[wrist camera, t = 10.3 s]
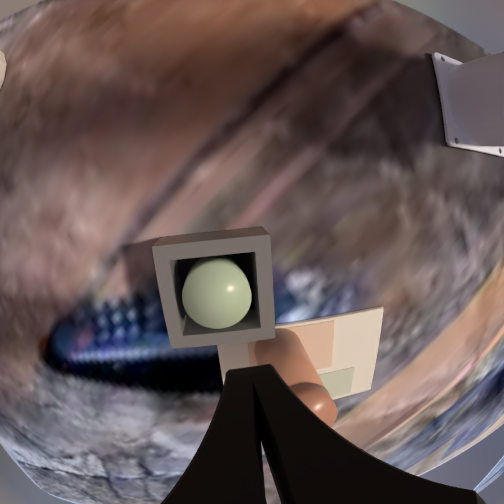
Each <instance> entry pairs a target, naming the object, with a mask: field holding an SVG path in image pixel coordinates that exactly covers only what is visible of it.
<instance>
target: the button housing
mask: <svg viewBox="0 0 504 504" xmlns="http://www.w3.org/2000/svg"><path fill="white" fill-rule="evenodd" d="M152 251H153V257H154V264H155V270H156V276H157V281H158V287H159V292H160V297H161V302H162V307H163V312H164V317H165V322H166V326H167V331H168V335H169V340H170V344H171V348H187V347H200V346H212V345H222V344H232V343H241V342H249V341H257V340H265V339H272V338H275V316H274V296H273V277H272V259H271V242H270V234H269V233H268V232H267V231H266V230H265V229H264V228H263V227H255V228H244V229H234V230H223V231H213V232H204V233H194V234H184V235H175V236H166V237H160V238H159V240H158V241H157V242H156V243H155V244H154V245H153V246H152ZM246 252H251V263H252V276H253V289H254V302H255V309H253V310H248V312H247V313H246V315H245V316H244V317H243V318H242V319H241V320H240V321H239V322H237V323H236V324H234V325H232V326H230V327H226V328H221V329H213V328H208V327H204V326H202V325H200V324H198V323H196V322H195V321H194V320H193V319H192V318H191V317H190V316H186V312H185V308H184V305H183V301H182V288H181V282H180V276H179V269H178V262H177V259H187V258H197V257H207V256H217V255H227V254H237V253H246Z"/></svg>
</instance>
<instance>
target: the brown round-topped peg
mask: <svg viewBox="0 0 504 504" xmlns="http://www.w3.org/2000/svg"><path fill="white" fill-rule="evenodd" d="M254 354H255V358H256V362H257V366H259V365H265V364H271V365H273V366H274V367H275V369H276V371H277V372H278V374H279V375H280V376H281V378H282V379H283V380H284V382H285V383H286V384H287V385H288V386H289V388H290V389H291V390H292V391H293V392H294V393H295V394H296V396H297V397H298V398H299V399H300V400H301V401H302V402H303V403H304V404H305V405H306V406H307V407H308V408H309V409H310V410H311V411H312V412H313V413H314V414H315V415H317V416H318V417H319V418H320V419H321V420H322V421H323V422H325V423H326V424H327V425H328V426H329V427H331V426H332V425H333V423H334V422H335V420H336V417H337V408H336V405H335V404H334V402H333V400H332V398H331V396H330V394H329V392H328V391H327V389H326V388H325V387H324V385H323V383H322V381H321V379H320V377H319V375H318V373H317V371H316V369H315V367H314V366H313V364H312V362H311V360H310V358H309V356H308V354H307V352H306V350H305V348H304V346H303V345H302V343H301V341H300V339H299V337H298V336H297V334H296V333H294V332H293V331H291V330H289V329H285V328H277V329H275V338H272V339H265V340H257V342H256V344H255V347H254Z"/></svg>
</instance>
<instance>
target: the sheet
mask: <svg viewBox="0 0 504 504" xmlns="http://www.w3.org/2000/svg"><path fill="white" fill-rule="evenodd" d="M383 308H384V307H382V306H379V307H374V308H369V309H364V310H359V311H354V312H349V313H344V314H338V315H332V316H327V317H321V318H315V319H309V320H302V321H296V322H289V323H282V324H275V329H277V328H285V329H289V330H291V331H293V332H294V333H296V334H297V336H298V337H299V339H300V341H301V343H302V345H303V346H304V348H305V350H306V352H307V354H308V356H309V358H310V360H311V362H312V364H313V366H314V367H315V369H316V371H317V373H318V375H319V377H320V379H321V381H322V383H323V385H324V387H325V388H326V389H327V391H328V392H329V394H330V396H331V398H332V400H333V399H337V398H341V397H345V396H349V395H352V394H356V393H360V392H363V391H366V390H370V388H371V383H372V379H373V374H374V368H375V363H376V357H377V351H378V345H379V339H380V332H381V325H382V317H383ZM256 342H257V341H249V342H241V343H232V344H222V345H217V348H218V354H219V361H220V367H221V373H222V378H223V384H224V381H225V375H226V372H227V371H228V370H229V369H237V368H245V367H252V366H257V362H256V358H255V354H254V347H255V344H256Z"/></svg>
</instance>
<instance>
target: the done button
mask: <svg viewBox="0 0 504 504" xmlns="http://www.w3.org/2000/svg"><path fill="white" fill-rule="evenodd" d="M182 301H183V305H184V308H185V310H186V312H187V314H188V315H189V316H190V317H191V318H192V319H193V320H194V321H195V322H196V323H198V324H200V325H202V326H204V327H208V328H213V329H221V328H226V327H230V326H232V325H234V324H236V323H237V322H239V321H240V320H241V319H242V318H243V317H244V316H245V315H246V313H247V312H248V310H249V307H250V304H251V290H250V286H249V283H248V280H247V277H246V274H245V272H244V270H243V268H242V267H241V266H240V265H239V264H238V263H237V262H236V261H235V260H233V259H231V258H229V257H226V256H223V255H217V256H207V257H204V258H201V259H200V260H198V261H197V262H196V263H194V265H193V266H192V267H191V268H190V270H189V272H188V274H187V277H186V281H185V284H184V288H183V292H182Z"/></svg>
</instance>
